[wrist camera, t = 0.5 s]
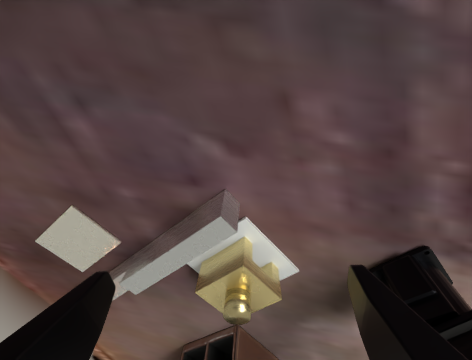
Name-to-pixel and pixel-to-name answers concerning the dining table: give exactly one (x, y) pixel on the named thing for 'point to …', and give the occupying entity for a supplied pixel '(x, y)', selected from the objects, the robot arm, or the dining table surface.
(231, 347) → the letter holder
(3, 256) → the dining table surface
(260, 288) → the clip saddle
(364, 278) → the robot arm
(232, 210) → the flange rail
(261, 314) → the dining table surface
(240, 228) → the pad
